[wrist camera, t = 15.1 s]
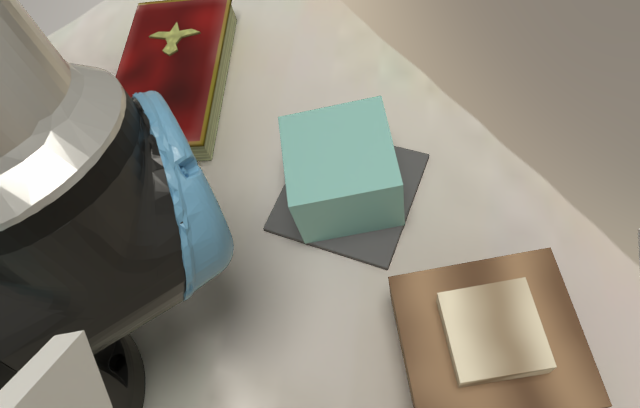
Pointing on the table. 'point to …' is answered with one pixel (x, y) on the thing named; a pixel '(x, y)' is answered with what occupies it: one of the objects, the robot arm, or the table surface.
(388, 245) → the mat
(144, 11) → the hardcover book
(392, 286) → the walnut box
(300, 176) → the mint green cube
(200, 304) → the table surface
